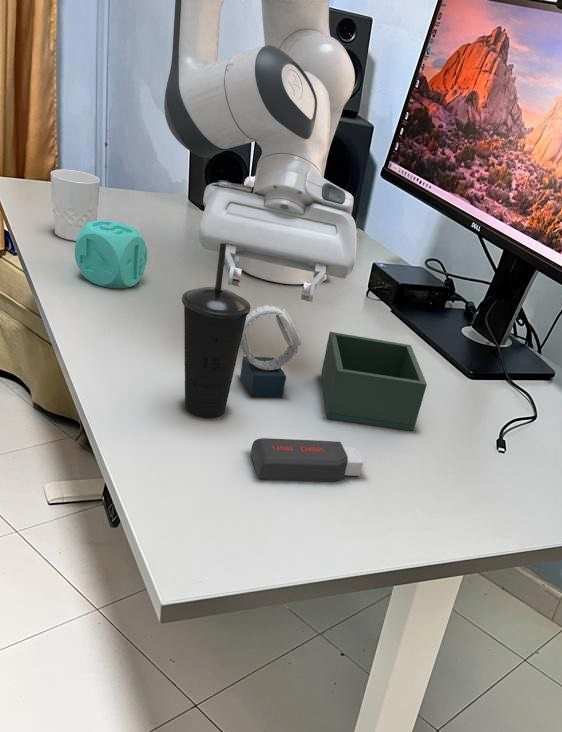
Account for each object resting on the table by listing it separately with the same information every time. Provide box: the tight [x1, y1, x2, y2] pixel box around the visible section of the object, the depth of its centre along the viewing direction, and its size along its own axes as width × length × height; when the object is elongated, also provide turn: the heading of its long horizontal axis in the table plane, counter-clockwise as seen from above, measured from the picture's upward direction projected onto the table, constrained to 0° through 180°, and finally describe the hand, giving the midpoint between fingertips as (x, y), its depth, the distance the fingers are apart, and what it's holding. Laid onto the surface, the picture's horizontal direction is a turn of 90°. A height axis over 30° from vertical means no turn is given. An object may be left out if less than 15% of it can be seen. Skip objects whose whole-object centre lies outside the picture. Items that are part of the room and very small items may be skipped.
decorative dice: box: [74, 220, 148, 289], centre depth 119 cm, size 8×8×8 cm
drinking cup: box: [181, 243, 252, 419], centre depth 88 cm, size 8×8×20 cm
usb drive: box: [250, 437, 364, 482], centre depth 86 cm, size 5×12×3 cm, turn 106°
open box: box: [320, 331, 428, 432], centre depth 102 cm, size 13×12×7 cm
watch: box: [239, 304, 302, 399], centre depth 98 cm, size 6×8×11 cm
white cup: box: [50, 169, 101, 242], centre depth 133 cm, size 8×8×10 cm
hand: (270, 291), depth 98 cm, fingers open, 8 cm apart
